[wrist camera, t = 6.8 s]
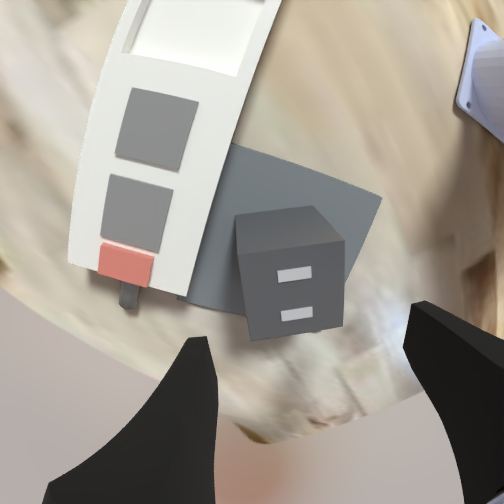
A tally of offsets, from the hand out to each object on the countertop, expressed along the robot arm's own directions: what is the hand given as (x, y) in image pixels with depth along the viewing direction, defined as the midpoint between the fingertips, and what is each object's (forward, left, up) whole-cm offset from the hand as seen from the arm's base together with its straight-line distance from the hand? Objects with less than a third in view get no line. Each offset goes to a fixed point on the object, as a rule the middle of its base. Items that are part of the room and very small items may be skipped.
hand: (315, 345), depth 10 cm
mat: (0, 0, -9) cm, 9 cm away
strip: (+8, -6, -9) cm, 14 cm away
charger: (0, 0, -9) cm, 9 cm away
